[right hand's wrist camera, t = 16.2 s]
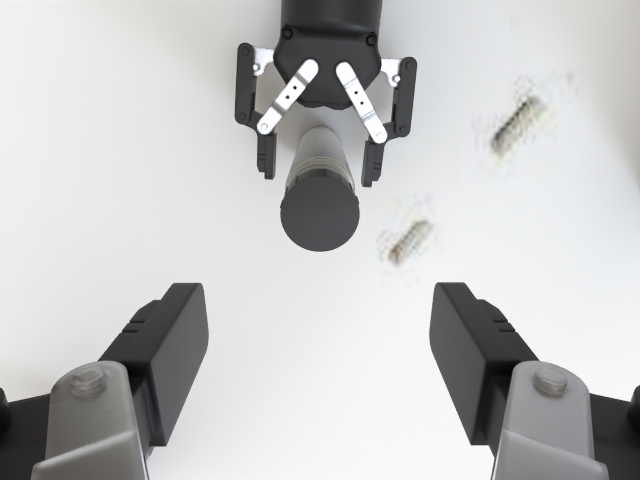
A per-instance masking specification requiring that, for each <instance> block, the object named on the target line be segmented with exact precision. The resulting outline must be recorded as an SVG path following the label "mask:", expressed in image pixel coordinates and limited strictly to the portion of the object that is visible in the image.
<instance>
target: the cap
mask: <svg viewBox="0 0 640 480" xmlns="http://www.w3.org/2000/svg"><path fill="white" fill-rule="evenodd" d="M358 204H359V201H358V198H357V196H356V195H355V193H354V190H353V188H352V185H351V183H349V182H348V181H347V180H346V179H345V178H344V177H343V176H341V174H340V173H339V174H338V173H336V172H334V171H331V170H327V169H326V168H325V169H313V170H311V169H310V170H309V171H306V172H304V173H302V174H300V175H299V176H298V175H297V176H296V178H295V179H294V180H293V181H292V182H291V183H290V185H289V186H287V188H286V191H285V195H284V199H283V200H282V203H281V206H280V208H281V212H280V214H281V223H282V226H283V228H284V230H285V232H286V234H287V235H288V237H289V238H290V239H291V240H292V241H293V242H294V243H296V244H297V245H298V246H300V247H302V248H304V249H307V250H311V251H317V252H323V251H329V250H333V249H336V248H338V247H340V246H342V245H343V244H344V243H346V242H347V241H348V240H349V239H350V238H351V237H352V235H353V234H354V232H355V230H356V228H357V226H358V222H359V214H360V213H359V206H358Z"/></svg>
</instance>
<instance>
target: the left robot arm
mask: <svg viewBox="0 0 640 480" xmlns="http://www.w3.org/2000/svg"><path fill="white" fill-rule="evenodd" d="M381 9H382V0H282V6H281V33H280V39H279V42H278V44H277V46H276V48H275V49H267V48H260V47H254V46H252V45H250V44H248V43H242V44H240V45H239V47H238V53H237V75H236V97H235V120H236V121H237V122H238V123H239V124H244V125H246V126H248V127H250V128H252V129H254V130H255V131H256V133H257V136H258V145H257V167H258V170H259V172H265V179H269V180H273V179H274V177H275V166H276V138H277V133H274V127H275V126H276V125H277V124H278V122H279V121H280V120H281V119H282V117H283V116H284V115H285V114H286V112H287V111H288V110H289V109H290V107H291V106H292V105H293V104H294V102H295V101H297V102H298V103H299V104H301V105H303V106H305V107H310V108H316V107H321V106H326V107H329V108H331V109H335V110H343V109H346V108H349V107H351V106H353V108H354V109H355V111H356V113H357V115H358V116H359V118H360V120H361V121H362V123H363V125H364V127H365V128H366V130H367V132H368V134H369V139H368V141H366V142H365V150H364V159H363V168H362V177H361V184H362V186H363V187H371V186H372V181H378V179H379V177H380V175H381V167H382V160H383V152H384V146H385V144H386V143H387V142H388V141H389V140H391V139H394V138H398V137H406V136H407V135H408V134H409V133H410V128H411V118H412V109H413V99H414V90H415V80H416V71H417V62H416V60H415V59H414V58H413V57H405V58H402V59H387V58H381V57H380V54H379V51H378V35H379V26H380V17H381ZM270 63H274V65H275V67H276V69H277V70H278V72H279V73H280V75H281V77H282V78H283V80H284V82H285V83H286V87H285V88H284V89H283V90H282V92H281V93H280V94H279V96H278V97H277V98H276V99H275V101H274V102H273V103H272V105H271V106H270V108H269V109H268V110H267V112H266V113H265V114H264V115H263V114H261V113H258V112H256V111H255V96H256V80H257V76H261V75H263V74H264V73H265V71H266V67H267V65H268V64H270ZM380 71H381V72H383V73H384V74H385V75H386V80H387V83H388V85H389V86H391V87H394V93H393V105H392V116H391V122H388V123H385V124H382V123H381V121H380V119H379V118H378V116H377V114H376V111H375V109H374V108H373V106H372V104H371V102H370V100H369V98H368V97H367V95H366V93H365V90H366V89H367V87H368V86H369V85H370V84H371V83H372V81H373V80H374V79H375V78H376V77H377V75H378V74H379V73H380Z"/></svg>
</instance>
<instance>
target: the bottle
mask: <svg viewBox="0 0 640 480" xmlns="http://www.w3.org/2000/svg"><path fill="white" fill-rule="evenodd" d="M325 168H326V169H327V170H331V171H334V172H336V173H338V174H339V173H340V174H341V176H343V177H344V178H345V179H346V180H347V181H348V182H349V183H351V185H352V188H353V190H354V193H355V186H354V181H353V178H352V175H351V172H350V169H349V166H348V163H347V160H346V157H345V154H344V151H343V149H342V146H341V143H340V140H339V138H338V136H337V135H336V134H335V133H334V132H333V131H332V130H330V129H328V128H326V127H314V128H312V129H310V130H308V131H307V132H306V133H305V134H304V135H303V136H302V138H301V140H300V143H299V146H298V149H297V151H296V154H295V157H294V160H293V163H292V166H291V169H290V172H289V175H288V178H287V181H286V186H285V191H286V188H287V186H289V185H290V183H291V182H292V181H293V180H294V179H295V178H296V176H297V175H298V176H299V175H300V174H302V173H304V172H306V171H309V170H310V169H311V170H313V169H325Z"/></svg>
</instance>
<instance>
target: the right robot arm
mask: <svg viewBox="0 0 640 480" xmlns="http://www.w3.org/2000/svg"><path fill="white" fill-rule="evenodd" d="M208 337H209V332H208V322H207V314H206V305H205V297H204V289H203V286H202V284H201V283H173V284H172V285H171V287H170V288H169V289H168V291H167V292H166V294H165V295H164V296H163V298H162V299H161V300H153V301H152V302H150V303H148V304H147V305H145V306H144V307H142V308H141V309H139V310H138V311H137V312H136V314H135V315H134V316H133V317H132V319H131V320H130V323H128V324H127V325H126V326H125V327H124V329H123V330H122V333H120V334H119V335H118V336H117V337H116V339H115V340H114V341H113V342H112V344H111V345H110V346H109V347H108V349H107V350H106V351H105V352H104V354H103V355H102V356H101V357H100V359H99V360H98V361H97V362H93V363H89V364H86V365H83V366H80V367H78V368H76V369H74V370H72V371H70V372H69V373H67V374H65V375H64V376H63V377H62V378H60V379H59V380H58V381H57V382H56V384H55V385H54V386H53V388H52V390H51V393H50V394H46V395H42V396H37V397H32V398H28V399H23V400H18V401H14V402H9V403H8V402H7V399H6V396H5V393H4V391H3V389H2V388H0V480H150V479H149V473H148V468H147V463H146V462H147V460H148V458H149V456H150V455H151V453H152V451H153V449H154V447H155V446H166V445H167V443H168V441H169V438H170V436H171V434H172V431H173V429H174V427H175V424H176V422H177V419H178V417H179V415H180V412H181V410H182V408H183V405H184V403H185V401H186V398H187V396H188V393H189V391H190V389H191V386H192V384H193V382H194V379H195V377H196V375H197V372H198V370H199V367H200V365H201V363H202V360H203V358H204V356H205V353H206V350H207V346H208ZM429 337H430V346H431V350H432V353H433V355H434V358H435V360H436V362H437V365H438V367H439V370H440V372H441V374H442V377H443V379H444V382H445V384H446V386H447V389H448V391H449V394H450V396H451V398H452V401H453V403H454V406H455V408H456V410H457V413H458V415H459V418H460V420H461V422H462V425H463V427H464V430H465V432H466V434H467V437H468V439H469V442H470V444H471V445H489V447H490V449H491V451H492V453H493V456H494V463H493V468H492V473H491V479H490V480H640V385H639V386H638V387H636V389H635V390H634V393H633V396H632V399H631V402H628V401H623V400H618V399H614V398H609V397H604V396H600V395H595V394H591V393H589V390H588V388H587V386H586V385H585V384H584V382H583V381H582V380H581V379H580V378H578V377H577V376H576V375H575V374H573V373H571V372H570V371H568V370H566V369H564V368H562V367H560V366H557V365H554V364H551V363H547V362H542V361H539V359H538V358H537V357H536V356H535V354H534V353H533V352H532V350H531V349H530V348H529V347H528V345H527V344H526V343H525V342H524V340H523V339H522V338H521V337H520V335H519V334H518V333H517V332H515V329H514V328H513V326H512V325H511V324H510V323H508V320H507V319H506V318H505V316H504V315H503V314H502V312H501V311H500V310H499V309H498V308H496V307H495V306H493V305H492V304H490V303H489V302H487V301H485V300H484V299H476V298H475V296H474V295H473V294H472V292H471V291H470V289H469V288H468V287H467V285H466V284H465V283H463V282H438V283H436V285H435V288H434V295H433V304H432V313H431V321H430V331H429Z"/></svg>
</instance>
